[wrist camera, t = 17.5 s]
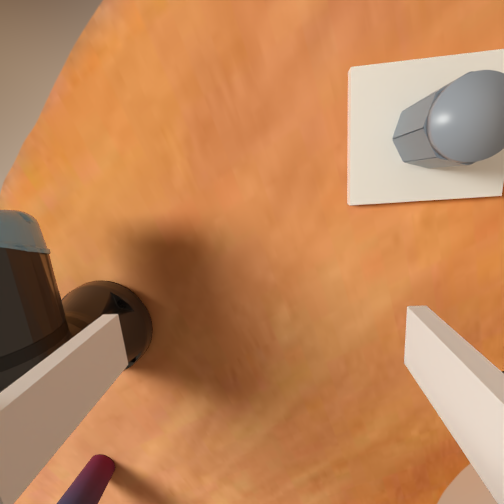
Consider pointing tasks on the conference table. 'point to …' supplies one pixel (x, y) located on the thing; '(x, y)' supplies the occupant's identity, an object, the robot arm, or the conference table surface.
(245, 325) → the conference table surface
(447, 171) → the stud board
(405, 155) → the cap
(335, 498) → the conference table surface
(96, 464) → the cup
